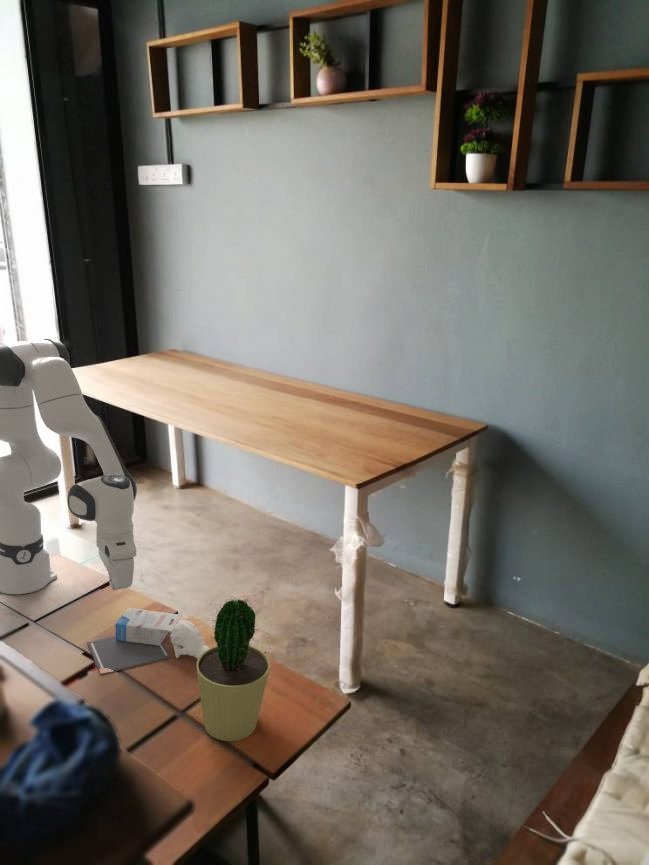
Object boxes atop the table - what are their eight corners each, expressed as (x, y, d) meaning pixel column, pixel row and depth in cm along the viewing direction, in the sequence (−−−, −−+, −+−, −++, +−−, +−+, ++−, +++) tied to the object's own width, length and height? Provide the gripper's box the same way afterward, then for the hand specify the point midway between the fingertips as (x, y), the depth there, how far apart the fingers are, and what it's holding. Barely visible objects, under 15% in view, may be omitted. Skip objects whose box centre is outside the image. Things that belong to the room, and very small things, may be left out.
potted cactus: (227, 760, 139) (234, 628, 131) (179, 722, 148) (182, 597, 140) (281, 723, 150) (290, 600, 142) (233, 691, 160) (238, 573, 152)
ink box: (115, 641, 175) (171, 648, 173) (114, 623, 173) (171, 630, 172) (128, 623, 183) (182, 630, 181) (128, 606, 181) (182, 613, 180)
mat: (87, 643, 173) (87, 642, 173) (154, 629, 182) (154, 627, 182) (100, 674, 162) (100, 673, 161) (171, 657, 170) (171, 656, 170)
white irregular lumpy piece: (187, 613, 174) (222, 635, 168) (184, 641, 177) (218, 664, 171) (168, 623, 169) (203, 646, 163) (165, 652, 172) (200, 675, 166)
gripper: (92, 523, 180) (92, 571, 184) (111, 557, 163) (111, 609, 167) (117, 520, 183) (116, 567, 187) (138, 553, 166) (137, 604, 170)
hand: (114, 587), depth 177 cm, fingers closed
